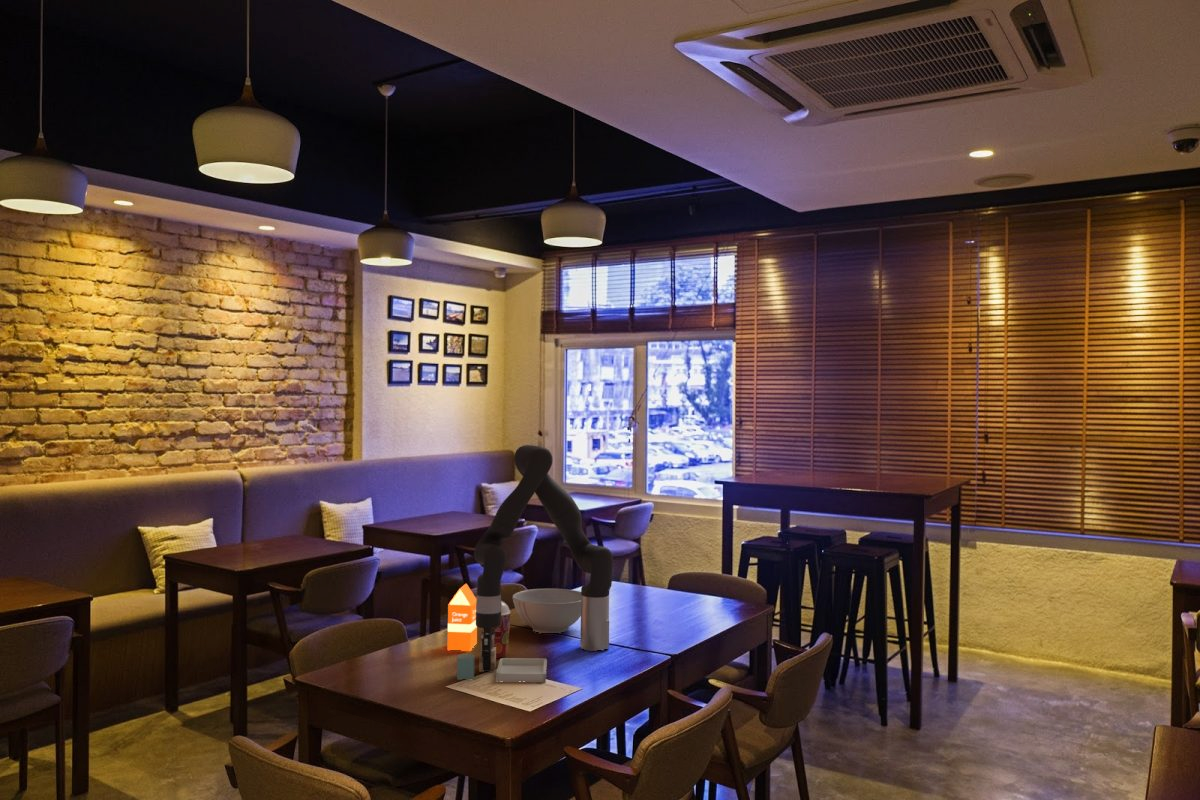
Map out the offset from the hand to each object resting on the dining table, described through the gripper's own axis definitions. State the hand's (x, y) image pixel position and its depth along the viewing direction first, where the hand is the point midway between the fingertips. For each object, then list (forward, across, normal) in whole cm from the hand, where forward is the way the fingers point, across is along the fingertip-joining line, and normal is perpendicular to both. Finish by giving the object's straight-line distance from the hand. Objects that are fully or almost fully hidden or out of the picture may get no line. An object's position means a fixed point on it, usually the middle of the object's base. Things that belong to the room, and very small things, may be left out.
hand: (487, 667), depth 261 cm
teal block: (+1, -8, +6) cm, 10 cm away
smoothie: (+1, +15, -2) cm, 15 cm away
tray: (+1, -5, -10) cm, 12 cm away
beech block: (+1, 0, 0) cm, 1 cm away
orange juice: (+1, +25, +10) cm, 27 cm away
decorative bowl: (+1, +49, -18) cm, 52 cm away
